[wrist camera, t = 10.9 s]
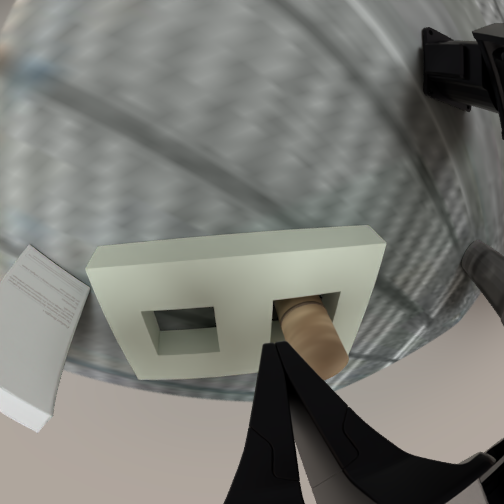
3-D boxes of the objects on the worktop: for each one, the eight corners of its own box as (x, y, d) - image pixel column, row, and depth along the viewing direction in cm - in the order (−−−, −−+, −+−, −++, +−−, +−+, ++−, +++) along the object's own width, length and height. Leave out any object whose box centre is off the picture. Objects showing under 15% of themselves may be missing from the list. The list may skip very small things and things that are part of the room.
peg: (318, 276, 24) (355, 345, 17) (312, 309, 26) (341, 376, 19) (273, 281, 23) (299, 357, 17) (271, 315, 26) (292, 387, 19)
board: (368, 224, 22) (386, 243, 19) (338, 335, 29) (347, 355, 27) (97, 246, 19) (85, 268, 16) (141, 357, 26) (138, 379, 24)
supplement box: (14, 289, 19) (-35, 389, 9) (30, 240, 17) (-45, 354, 7) (69, 328, 23) (38, 435, 12) (94, 288, 21) (53, 419, 10)
